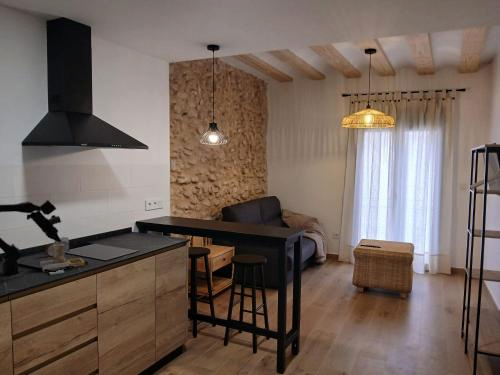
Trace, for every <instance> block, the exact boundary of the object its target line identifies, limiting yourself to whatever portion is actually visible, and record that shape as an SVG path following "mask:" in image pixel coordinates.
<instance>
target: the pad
mask: <svg viewBox="0 0 500 375" xmlns="http://www.w3.org/2000/svg"><path fill="white" fill-rule="evenodd" d="M48 273H49V275H50V276H54V275H59V274H64V273H65V271H64V268H63V269H62V270H58V271H56V272H48Z"/></svg>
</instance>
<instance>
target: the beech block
mask: <svg viewBox="0 0 500 375" xmlns="http://www.w3.org/2000/svg"><path fill="white" fill-rule="evenodd" d="M52 258H53V259H52V260H53V263H54V264H59V263H64V259H65V254H64V245H63V244H54V245H53V256H52Z"/></svg>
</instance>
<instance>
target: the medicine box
mask: <svg viewBox="0 0 500 375" xmlns="http://www.w3.org/2000/svg"><path fill="white" fill-rule="evenodd" d="M59 238H60V240H61V241H65V242H67V243H68V244H69V243H70V242H69V237H68V236H67V237H66V236H63V237H59ZM55 242H57V241H55V240H54V243H55ZM69 245H70V244H69Z"/></svg>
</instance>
